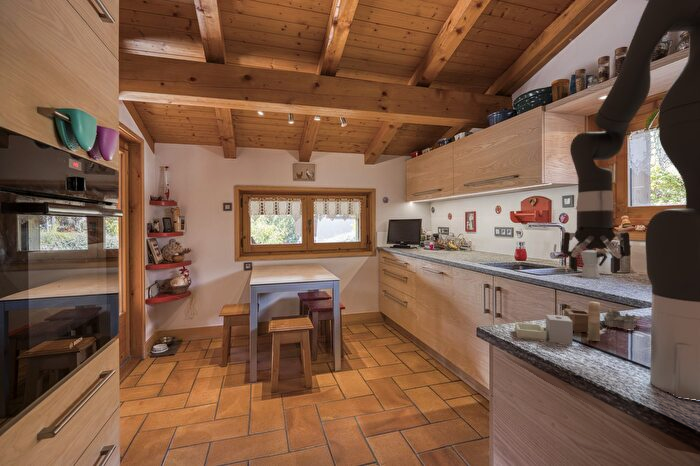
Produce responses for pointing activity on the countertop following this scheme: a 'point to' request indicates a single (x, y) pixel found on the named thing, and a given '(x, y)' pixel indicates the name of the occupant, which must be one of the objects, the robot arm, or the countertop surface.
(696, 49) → the robot arm
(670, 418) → the countertop surface
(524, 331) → the tray
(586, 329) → the bore block
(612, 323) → the grey lumpy piece
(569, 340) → the off-white square block
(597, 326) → the tan wooden peg
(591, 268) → the coffee maker
